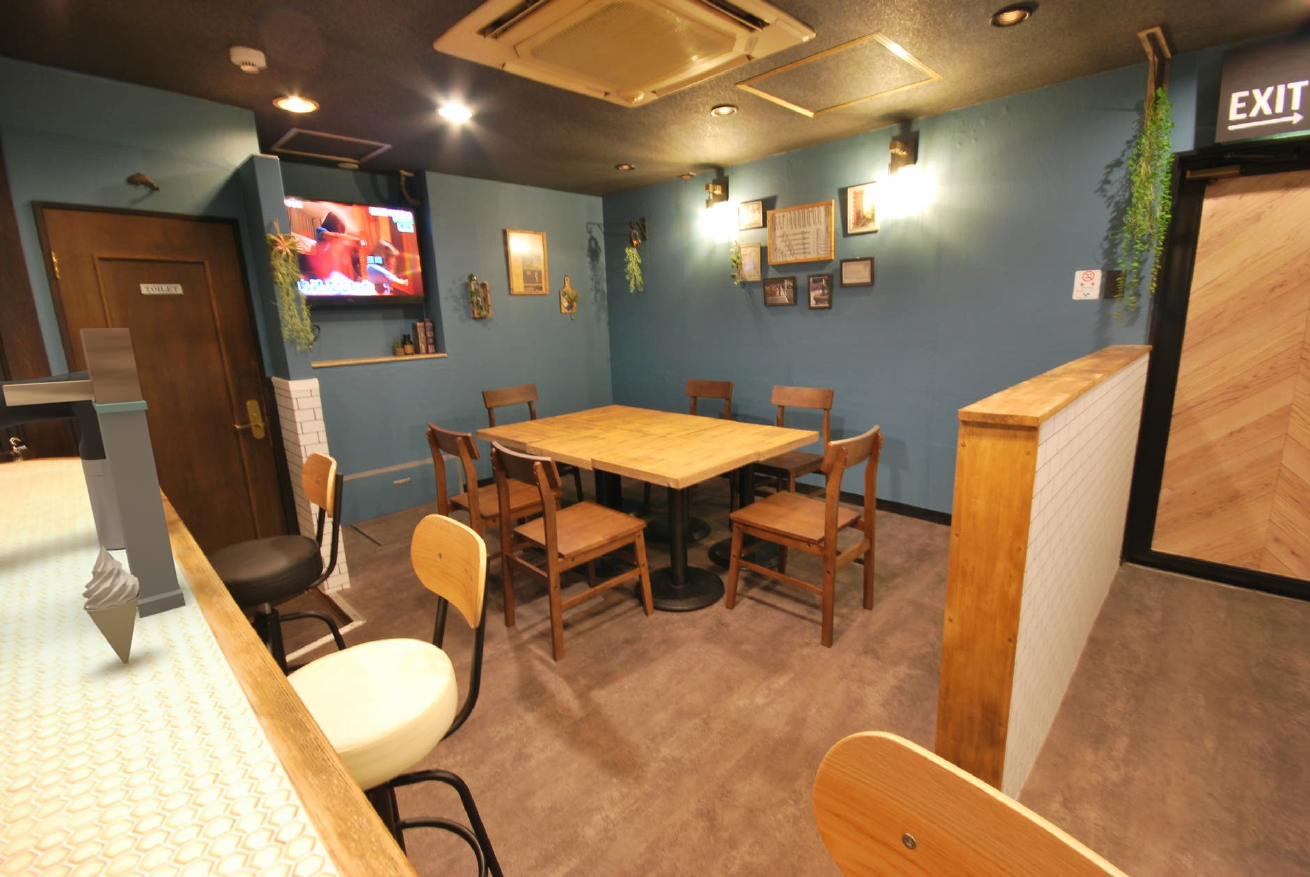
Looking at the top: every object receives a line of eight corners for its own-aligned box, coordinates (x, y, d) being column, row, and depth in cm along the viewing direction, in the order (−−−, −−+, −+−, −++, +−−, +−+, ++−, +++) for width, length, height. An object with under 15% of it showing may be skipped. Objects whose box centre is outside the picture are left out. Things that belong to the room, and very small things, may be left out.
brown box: (10, 406, 78) (-8, 331, 76) (135, 396, 87) (122, 329, 85) (6, 412, 71) (-14, 329, 70) (142, 400, 80) (128, 327, 79)
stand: (131, 588, 91) (91, 398, 85) (172, 578, 95) (136, 395, 89) (140, 617, 81) (96, 405, 76) (185, 605, 85) (146, 401, 79)
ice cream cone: (163, 654, 72) (139, 539, 69) (114, 677, 67) (87, 555, 64) (136, 648, 73) (112, 535, 71) (87, 670, 69) (59, 550, 66)
